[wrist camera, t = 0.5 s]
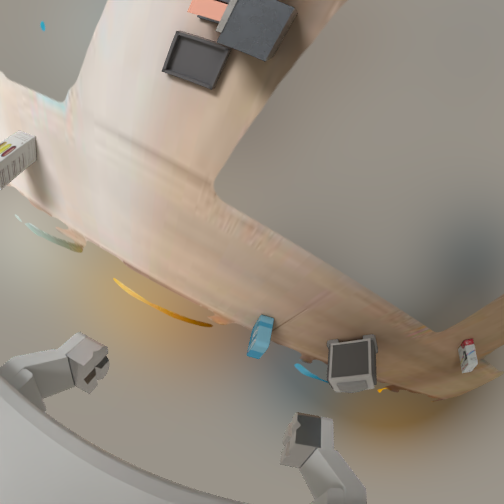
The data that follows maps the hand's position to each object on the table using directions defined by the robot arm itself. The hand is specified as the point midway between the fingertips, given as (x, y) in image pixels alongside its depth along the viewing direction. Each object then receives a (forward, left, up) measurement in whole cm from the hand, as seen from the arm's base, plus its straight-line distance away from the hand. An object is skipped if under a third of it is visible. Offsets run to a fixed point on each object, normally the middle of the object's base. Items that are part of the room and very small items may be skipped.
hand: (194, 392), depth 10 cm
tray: (-14, -13, -51) cm, 55 cm away
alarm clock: (+90, -8, -52) cm, 104 cm away
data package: (+67, -36, -52) cm, 92 cm away
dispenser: (-17, -2, -51) cm, 54 cm away
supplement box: (-26, -74, -52) cm, 94 cm away
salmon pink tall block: (-20, -4, -51) cm, 55 cm away
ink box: (+108, +41, -52) cm, 126 cm away
